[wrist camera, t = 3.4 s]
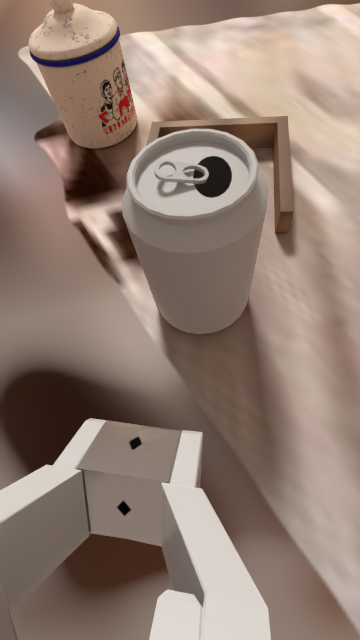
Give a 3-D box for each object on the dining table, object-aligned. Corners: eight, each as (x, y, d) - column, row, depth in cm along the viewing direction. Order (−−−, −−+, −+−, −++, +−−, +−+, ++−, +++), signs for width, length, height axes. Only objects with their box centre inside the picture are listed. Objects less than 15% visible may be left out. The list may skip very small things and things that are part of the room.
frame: (135, 230, 28) (128, 210, 26) (156, 144, 34) (152, 122, 31) (286, 233, 26) (293, 211, 24) (282, 140, 32) (287, 116, 29)
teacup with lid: (121, 156, 34) (78, 18, 23) (55, 147, 36) (-11, 17, 25) (159, 96, 38) (137, -41, 28) (98, 92, 40) (57, -37, 30)
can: (250, 338, 22) (284, 221, 11) (153, 339, 23) (99, 231, 12) (245, 258, 25) (266, 109, 15) (160, 262, 26) (121, 123, 16)
